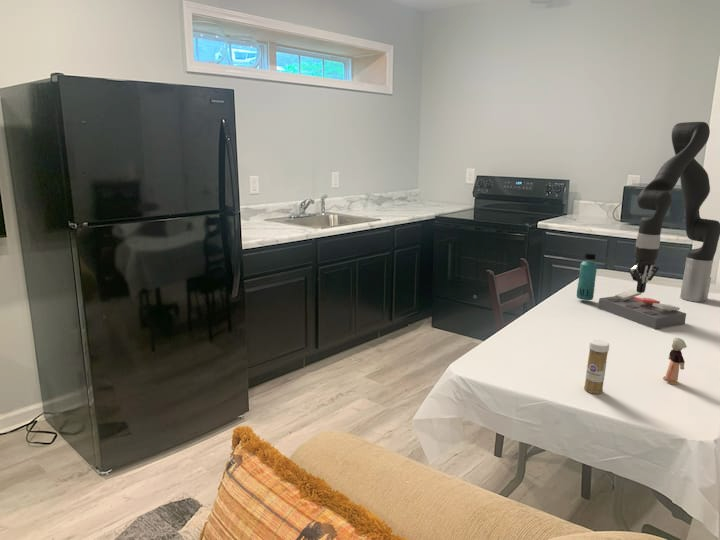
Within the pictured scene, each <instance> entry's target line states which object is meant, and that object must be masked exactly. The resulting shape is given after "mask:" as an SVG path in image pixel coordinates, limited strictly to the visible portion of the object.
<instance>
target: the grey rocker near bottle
mask: <svg viewBox="0 0 720 540" xmlns="http://www.w3.org/2000/svg"><path fill="white" fill-rule="evenodd" d="M640 295H642V293H639V292H637V289H633V288H632V289H630V290H627V291H623V292H620V293H618V294H615V295H614V296H615V298H618V299H621V300H627V299H633V298H634V297H639V296H640Z"/></svg>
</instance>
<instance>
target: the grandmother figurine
mask: <svg viewBox="0 0 720 540" xmlns="http://www.w3.org/2000/svg"><path fill="white" fill-rule="evenodd" d="M687 347H688V346H687V343H686V342H685V340H684V339H682V338H681V337H673V339H672V344H671V348H672V349H671V350H670V351H669V354H668V355H669V356H668V360H669V361H670V362H669V364H668V367H667V369H666V372H665V376H663V377H662V378H663V380H665V381H667V383H668V384H669V385H671V384H672V385H671V386H677V385H679V384H680V382H679V381H678V379H679V373H680V370H685V363H686V361H685V359H684V356H683V353H682V350H683V349H686V348H687Z"/></svg>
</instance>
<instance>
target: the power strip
mask: <svg viewBox="0 0 720 540" xmlns="http://www.w3.org/2000/svg"><path fill="white" fill-rule="evenodd" d="M598 299H599V300H598V308H597V309H599V310H601V311H604V310H605V311H604V312H608V313H610V314H612V313H613V314H612V315H615V316H617V317H621V318H623V319H626V320H629V321H631V322H635V323H637V324H640V325H642V326H645V327H648V328H650V329H653V330H659V329H665V328H670V327H671V328H672V327H675V326H681V325H685V324H686V318H687V312H682V311H680V310H671V311H667V310H664V309H661V308H658V307H655V306H652V305H653V303H652V304H651V305H649V304H646V303H643V302H640V301H637V300H634V298H633V299H627V300H621V299H618V298H615V295H614V296H613V295H612V296H608V297H607V296H606V297H600V298H598Z"/></svg>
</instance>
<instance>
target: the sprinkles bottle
mask: <svg viewBox="0 0 720 540" xmlns="http://www.w3.org/2000/svg"><path fill="white" fill-rule="evenodd" d="M588 348H589V353H588V358H587V366H586V371H585V382H584V387H583V388H584V390H585V391H586V392H588V393H591V394H593V395H598V394H602V393H603V388H604V381H605V375H606V369H607V358H608V353H609V351H610V343H609V342H607V341H605V340H602V339H592V340H590V341H589V347H588Z"/></svg>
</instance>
